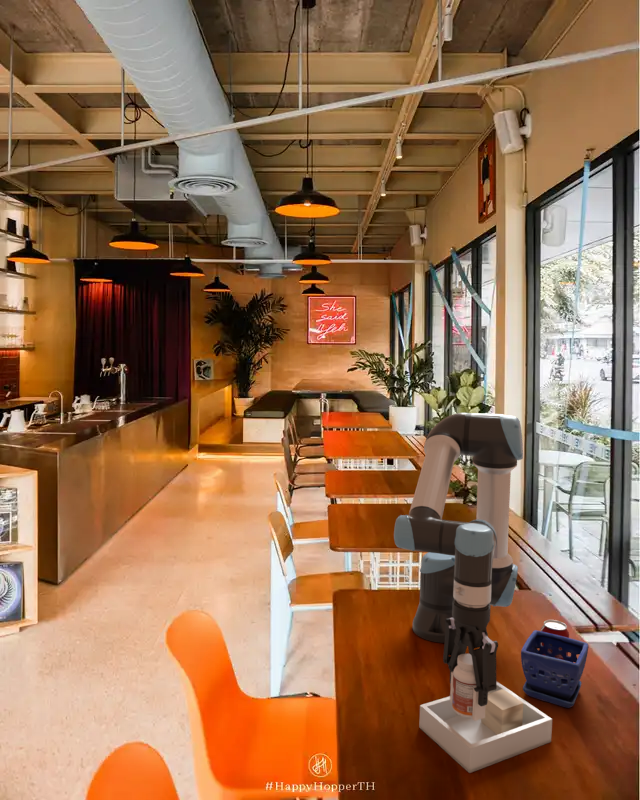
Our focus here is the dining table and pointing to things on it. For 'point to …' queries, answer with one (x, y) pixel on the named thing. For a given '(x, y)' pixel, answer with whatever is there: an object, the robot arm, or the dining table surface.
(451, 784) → the dining table surface
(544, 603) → the dining table surface
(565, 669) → the flower pot
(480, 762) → the tote
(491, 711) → the beech cube
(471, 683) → the pill bottle
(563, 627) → the soda can
